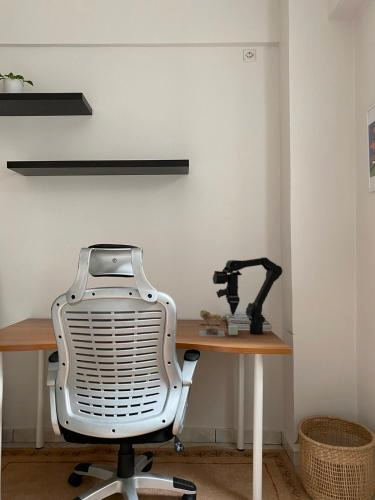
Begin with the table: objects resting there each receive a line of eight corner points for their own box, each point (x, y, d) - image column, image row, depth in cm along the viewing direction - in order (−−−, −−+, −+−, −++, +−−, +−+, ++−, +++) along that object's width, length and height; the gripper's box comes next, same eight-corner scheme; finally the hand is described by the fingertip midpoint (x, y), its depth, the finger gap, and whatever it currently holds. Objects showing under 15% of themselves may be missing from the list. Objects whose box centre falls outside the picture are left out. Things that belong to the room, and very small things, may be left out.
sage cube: (236, 334, 203) (236, 325, 203) (237, 335, 198) (237, 327, 199) (228, 333, 203) (228, 325, 203) (228, 335, 199) (229, 327, 199)
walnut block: (217, 332, 204) (217, 326, 204) (217, 334, 198) (217, 328, 198) (206, 332, 204) (206, 326, 204) (206, 334, 198) (206, 328, 198)
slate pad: (223, 331, 208) (223, 330, 208) (225, 337, 194) (225, 336, 194) (199, 331, 208) (199, 330, 208) (199, 336, 194) (199, 336, 194)
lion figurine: (199, 325, 227) (199, 310, 227) (200, 324, 232) (200, 309, 232) (224, 326, 225) (224, 311, 225) (224, 324, 230) (224, 309, 230)
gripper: (216, 282, 211) (216, 310, 211) (217, 284, 193) (217, 316, 192) (237, 282, 211) (236, 311, 210) (239, 285, 192) (239, 316, 192)
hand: (232, 313), depth 201 cm, fingers open, 9 cm apart
